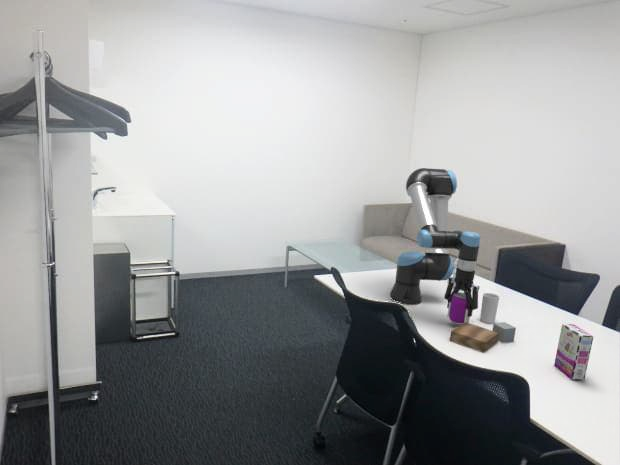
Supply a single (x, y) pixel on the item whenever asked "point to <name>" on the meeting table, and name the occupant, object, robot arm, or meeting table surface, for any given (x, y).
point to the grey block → (504, 332)
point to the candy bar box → (573, 351)
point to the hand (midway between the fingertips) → (457, 319)
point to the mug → (489, 307)
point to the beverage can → (458, 308)
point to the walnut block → (474, 336)
